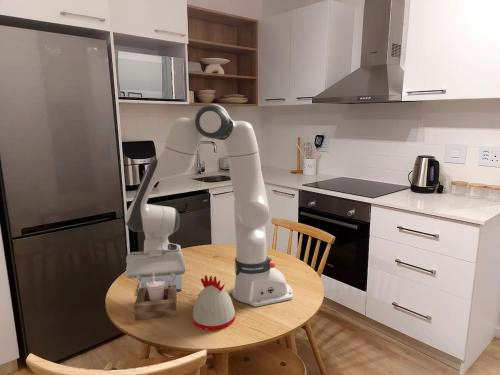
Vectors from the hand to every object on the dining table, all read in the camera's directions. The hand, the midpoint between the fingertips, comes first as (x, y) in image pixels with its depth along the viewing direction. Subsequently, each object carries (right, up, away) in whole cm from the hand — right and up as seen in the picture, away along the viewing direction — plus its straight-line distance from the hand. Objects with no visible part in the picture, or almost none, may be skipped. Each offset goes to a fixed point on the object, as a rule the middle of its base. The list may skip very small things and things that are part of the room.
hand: (155, 288), depth 125 cm
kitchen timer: (+20, -9, -4) cm, 23 cm away
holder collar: (0, -8, +2) cm, 8 cm away
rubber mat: (-3, -4, +19) cm, 20 cm away
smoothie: (0, -8, +2) cm, 8 cm away
